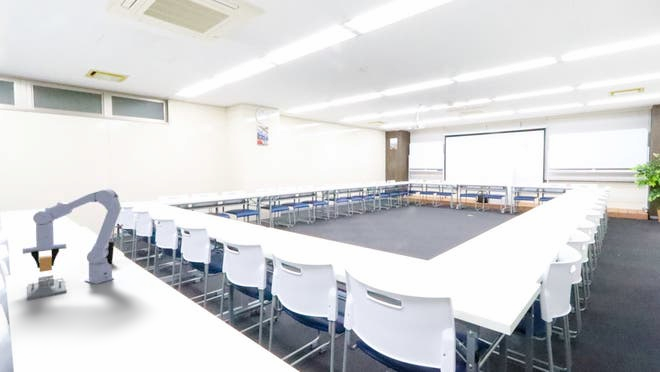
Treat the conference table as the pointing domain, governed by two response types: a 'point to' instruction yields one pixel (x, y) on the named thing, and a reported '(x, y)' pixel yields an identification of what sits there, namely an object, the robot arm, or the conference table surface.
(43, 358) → the conference table surface
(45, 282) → the clips
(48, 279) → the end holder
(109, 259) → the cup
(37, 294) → the board
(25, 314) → the conference table surface
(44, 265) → the block
